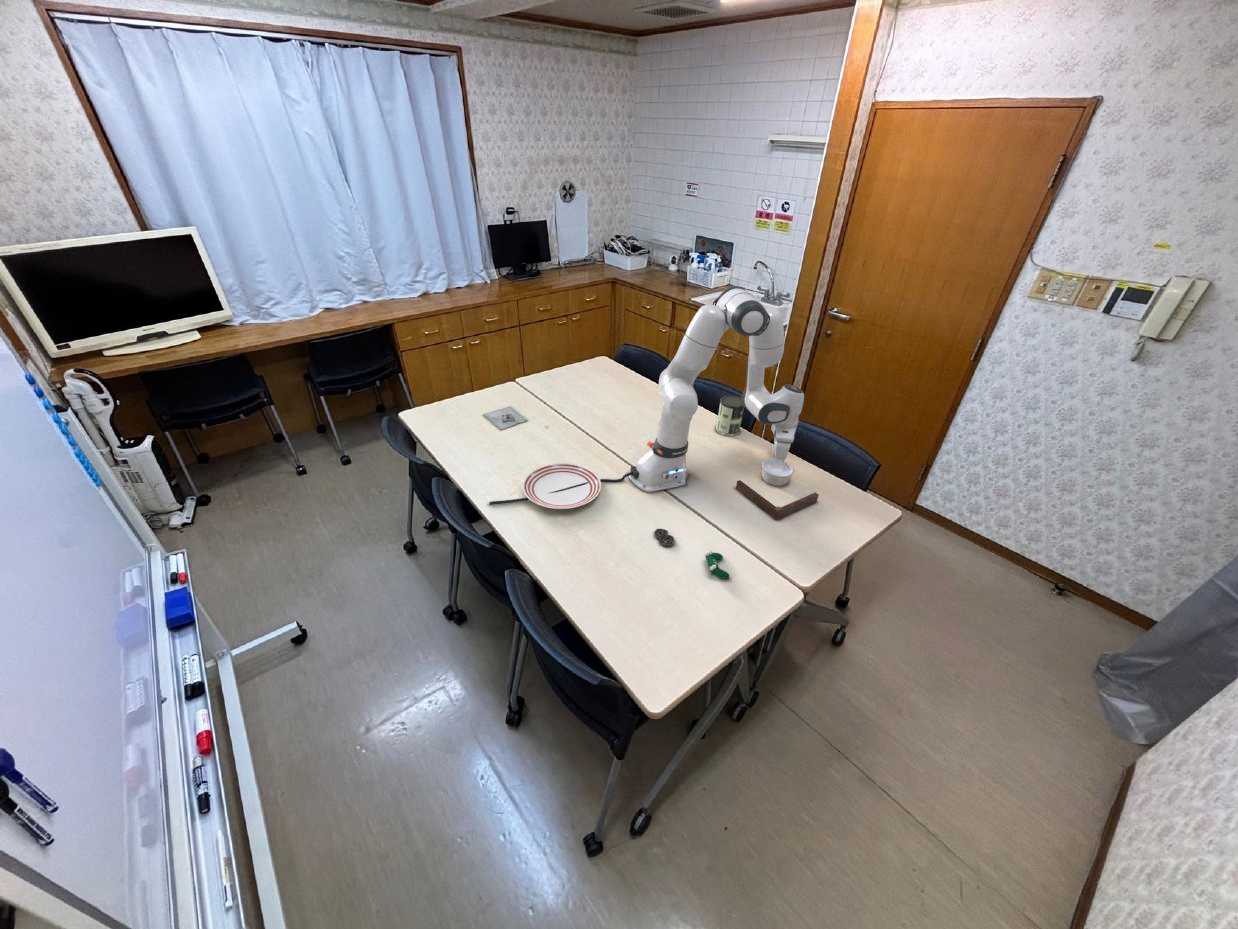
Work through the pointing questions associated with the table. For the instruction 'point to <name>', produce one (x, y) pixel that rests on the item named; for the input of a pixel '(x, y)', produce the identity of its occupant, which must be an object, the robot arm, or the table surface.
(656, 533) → the corroded twin loop
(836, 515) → the table surface
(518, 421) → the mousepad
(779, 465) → the ramekin
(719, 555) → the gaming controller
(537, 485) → the plate
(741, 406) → the coffee can
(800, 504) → the corner guard
